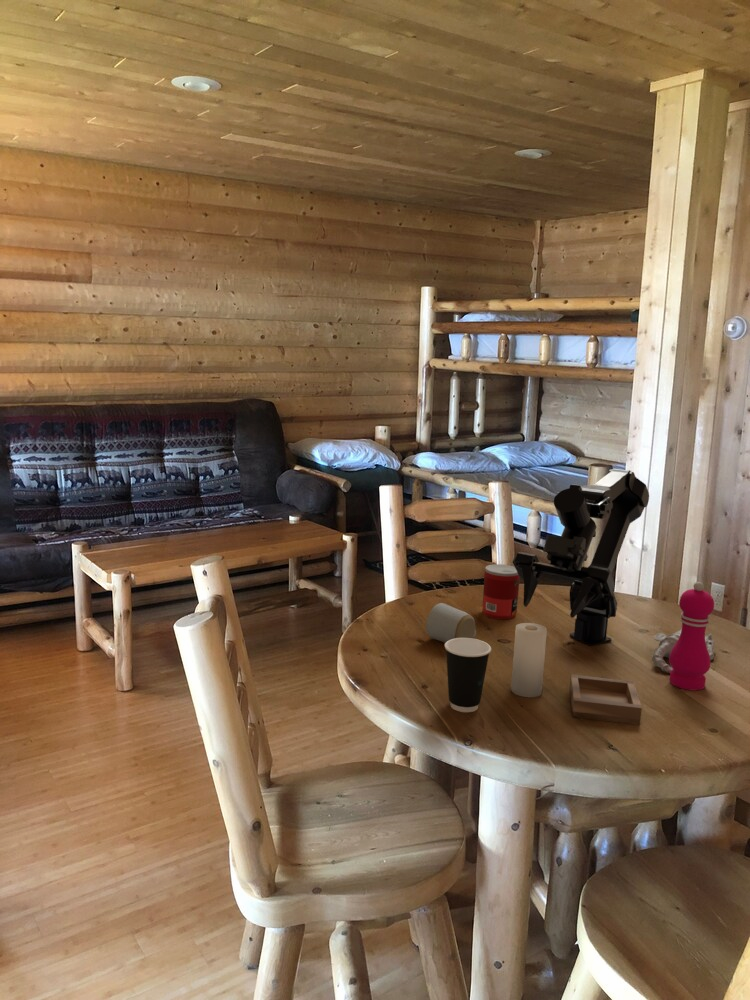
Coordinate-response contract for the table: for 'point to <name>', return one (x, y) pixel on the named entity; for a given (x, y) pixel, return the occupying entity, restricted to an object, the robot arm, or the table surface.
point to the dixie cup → (466, 672)
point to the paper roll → (528, 659)
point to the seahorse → (667, 646)
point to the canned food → (500, 591)
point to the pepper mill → (692, 640)
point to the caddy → (604, 699)
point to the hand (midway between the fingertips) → (547, 611)
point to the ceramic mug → (449, 623)
